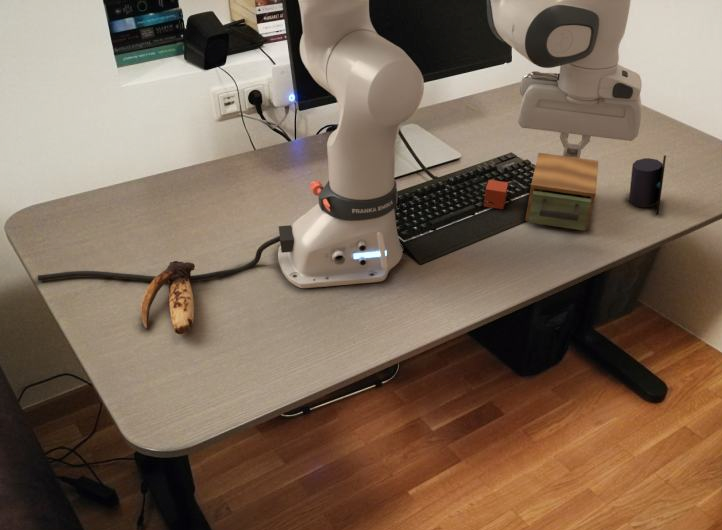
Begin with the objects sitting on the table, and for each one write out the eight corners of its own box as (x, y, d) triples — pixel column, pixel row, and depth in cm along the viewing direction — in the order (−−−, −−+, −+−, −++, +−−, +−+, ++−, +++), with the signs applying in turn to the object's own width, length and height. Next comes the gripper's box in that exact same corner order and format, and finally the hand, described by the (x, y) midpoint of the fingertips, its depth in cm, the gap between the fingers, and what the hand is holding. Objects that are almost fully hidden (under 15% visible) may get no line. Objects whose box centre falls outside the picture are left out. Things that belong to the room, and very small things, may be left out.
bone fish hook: (143, 282, 118) (142, 349, 105) (135, 259, 115) (134, 325, 102) (198, 273, 120) (204, 337, 107) (192, 250, 116) (198, 314, 103)
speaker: (670, 203, 141) (678, 156, 134) (657, 215, 138) (666, 168, 131) (635, 193, 145) (642, 147, 138) (622, 205, 142) (629, 159, 135)
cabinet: (587, 230, 133) (595, 193, 128) (525, 221, 135) (531, 184, 129) (590, 196, 143) (598, 160, 137) (532, 187, 145) (538, 152, 139)
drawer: (583, 245, 128) (589, 216, 123) (524, 236, 129) (529, 207, 125) (587, 198, 140) (593, 170, 136) (534, 190, 142) (539, 163, 138)
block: (503, 209, 138) (505, 192, 135) (483, 206, 138) (485, 189, 136) (505, 199, 141) (508, 182, 138) (486, 197, 141) (488, 179, 139)
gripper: (520, 77, 110) (510, 156, 119) (650, 91, 107) (629, 171, 116) (524, 63, 114) (514, 140, 124) (650, 76, 111) (630, 154, 121)
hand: (571, 155), depth 120 cm, fingers closed
